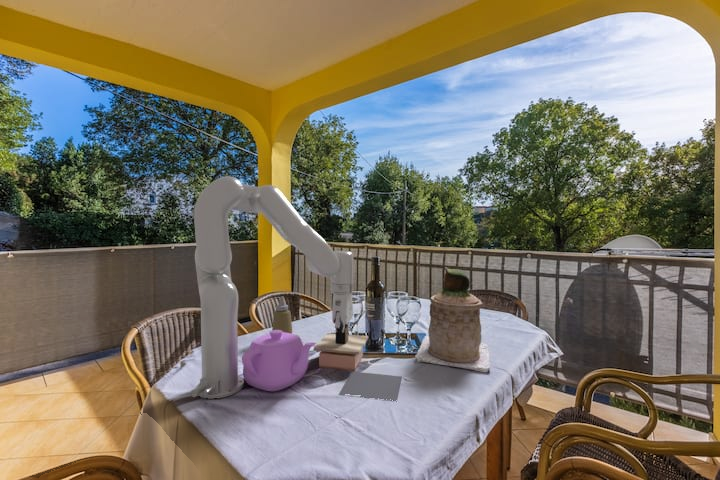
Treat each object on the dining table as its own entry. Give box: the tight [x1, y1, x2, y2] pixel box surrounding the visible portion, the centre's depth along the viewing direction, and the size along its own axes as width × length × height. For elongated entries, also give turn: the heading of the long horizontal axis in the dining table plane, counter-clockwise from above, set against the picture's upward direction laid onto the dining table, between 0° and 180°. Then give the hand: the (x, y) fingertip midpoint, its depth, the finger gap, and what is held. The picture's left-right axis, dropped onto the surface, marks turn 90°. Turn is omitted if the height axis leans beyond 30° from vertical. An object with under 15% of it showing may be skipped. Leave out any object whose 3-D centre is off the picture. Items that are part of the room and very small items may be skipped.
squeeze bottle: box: [271, 295, 293, 334], centre depth 135 cm, size 8×8×18 cm
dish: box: [318, 348, 364, 372], centre depth 114 cm, size 12×12×5 cm
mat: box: [338, 371, 403, 403], centre depth 98 cm, size 15×16×1 cm
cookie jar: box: [415, 266, 491, 373], centre depth 121 cm, size 25×25×32 cm
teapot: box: [241, 330, 317, 392], centre depth 98 cm, size 23×21×15 cm
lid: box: [313, 325, 369, 355], centre depth 114 cm, size 15×15×6 cm
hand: (342, 341), depth 114 cm, fingers closed on lid, 3 cm apart
